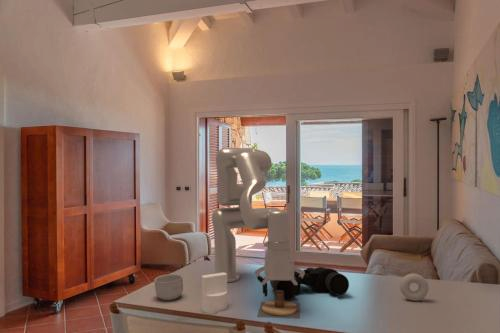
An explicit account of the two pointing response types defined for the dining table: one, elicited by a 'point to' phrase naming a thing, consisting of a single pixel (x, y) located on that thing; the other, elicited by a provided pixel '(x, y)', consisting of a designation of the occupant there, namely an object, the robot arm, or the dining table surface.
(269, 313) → the oak lid
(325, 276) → the binoculars
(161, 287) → the teacup
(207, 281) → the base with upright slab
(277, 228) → the robot arm
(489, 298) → the dining table surface
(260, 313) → the rubber mat
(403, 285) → the donut
